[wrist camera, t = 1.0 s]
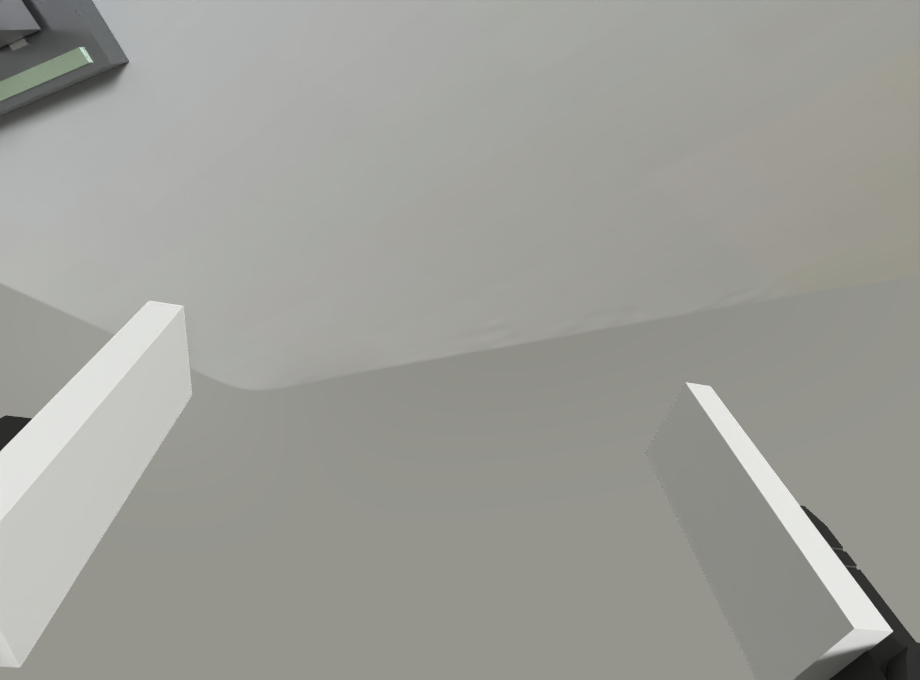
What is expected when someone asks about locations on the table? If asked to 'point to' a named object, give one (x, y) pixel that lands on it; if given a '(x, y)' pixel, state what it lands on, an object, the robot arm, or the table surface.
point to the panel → (56, 52)
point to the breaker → (15, 21)
